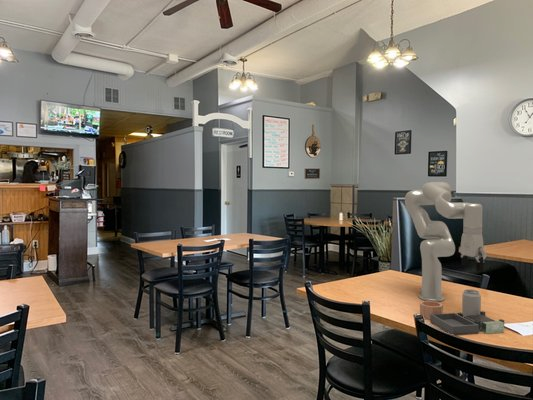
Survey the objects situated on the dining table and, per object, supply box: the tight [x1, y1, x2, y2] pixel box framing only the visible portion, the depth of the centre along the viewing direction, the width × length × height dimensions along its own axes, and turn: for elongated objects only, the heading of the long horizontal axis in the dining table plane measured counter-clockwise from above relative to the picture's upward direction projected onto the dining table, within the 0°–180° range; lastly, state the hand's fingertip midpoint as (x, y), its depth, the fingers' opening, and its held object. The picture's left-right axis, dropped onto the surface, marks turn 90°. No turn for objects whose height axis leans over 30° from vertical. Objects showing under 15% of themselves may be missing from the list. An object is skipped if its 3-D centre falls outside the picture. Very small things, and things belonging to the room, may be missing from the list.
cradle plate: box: [463, 315, 496, 328], centre depth 168 cm, size 9×9×2 cm
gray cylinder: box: [461, 289, 482, 317], centre depth 179 cm, size 8×8×12 cm
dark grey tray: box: [429, 312, 480, 336], centre depth 166 cm, size 16×12×4 cm
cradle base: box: [457, 310, 505, 335], centre depth 166 cm, size 15×12×4 cm
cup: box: [419, 300, 444, 321], centre depth 179 cm, size 9×9×6 cm
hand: (472, 268), depth 178 cm, fingers open, 9 cm apart
